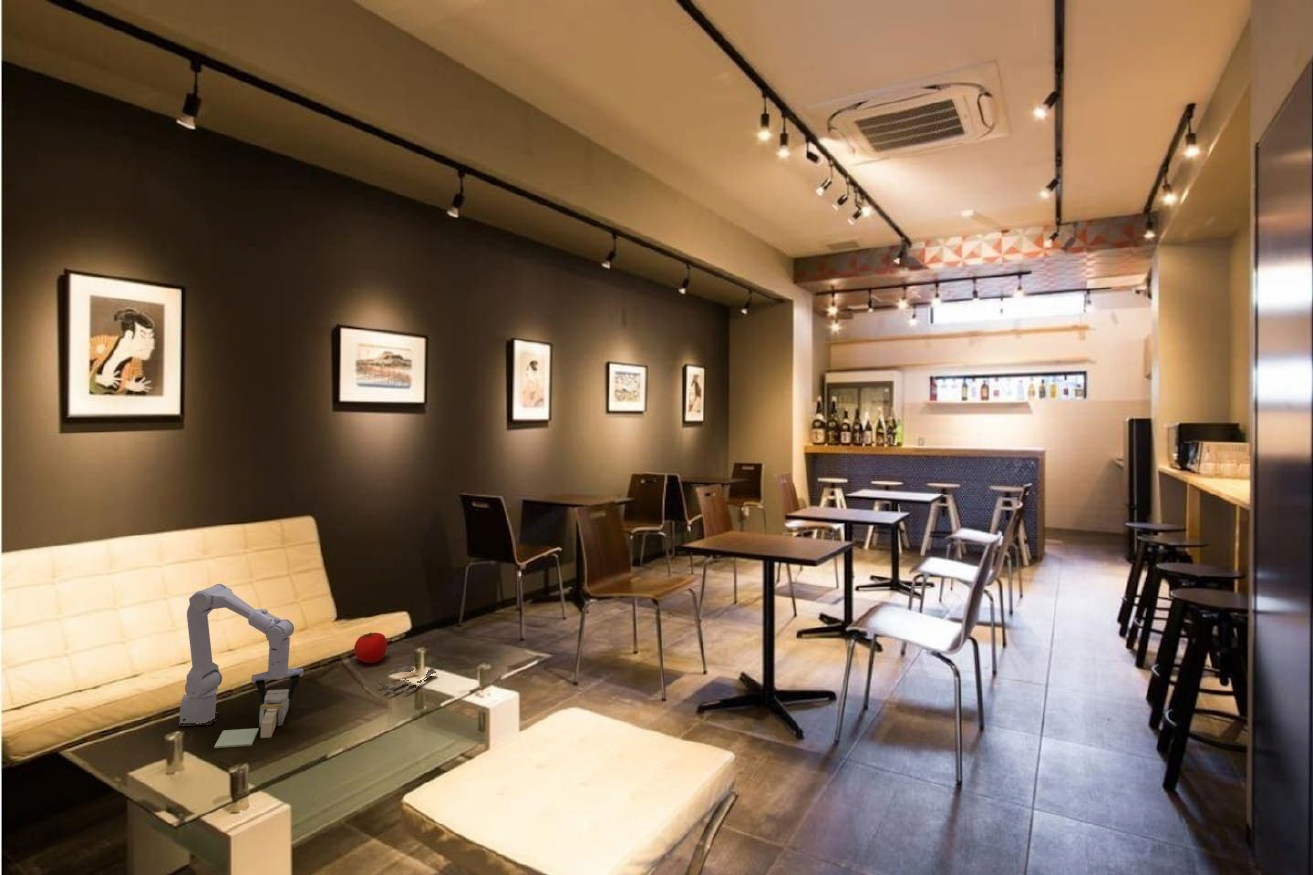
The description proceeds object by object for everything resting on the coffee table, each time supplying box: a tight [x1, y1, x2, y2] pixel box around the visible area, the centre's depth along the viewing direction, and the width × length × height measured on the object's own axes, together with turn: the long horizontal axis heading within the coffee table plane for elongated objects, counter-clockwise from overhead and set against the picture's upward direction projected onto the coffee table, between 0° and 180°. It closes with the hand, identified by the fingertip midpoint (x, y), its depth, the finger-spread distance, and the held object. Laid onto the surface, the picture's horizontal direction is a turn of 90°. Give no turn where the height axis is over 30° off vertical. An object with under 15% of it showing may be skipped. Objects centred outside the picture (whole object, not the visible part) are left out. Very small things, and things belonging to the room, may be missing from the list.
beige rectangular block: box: [259, 709, 278, 739], centre depth 225 cm, size 3×10×5 cm, turn 19°
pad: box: [213, 727, 260, 749], centre depth 218 cm, size 10×10×1 cm
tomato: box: [353, 631, 388, 664], centre depth 285 cm, size 12×14×11 cm
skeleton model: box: [375, 666, 437, 695], centre depth 266 cm, size 24×13×5 cm, turn 165°
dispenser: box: [258, 688, 290, 728], centre depth 233 cm, size 7×12×7 cm, turn 19°
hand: (276, 700), depth 225 cm, fingers open, 7 cm apart
